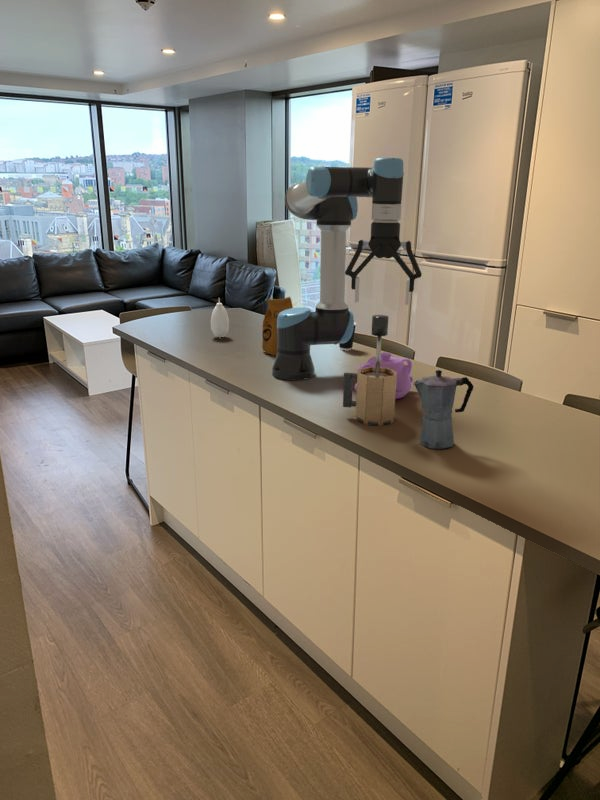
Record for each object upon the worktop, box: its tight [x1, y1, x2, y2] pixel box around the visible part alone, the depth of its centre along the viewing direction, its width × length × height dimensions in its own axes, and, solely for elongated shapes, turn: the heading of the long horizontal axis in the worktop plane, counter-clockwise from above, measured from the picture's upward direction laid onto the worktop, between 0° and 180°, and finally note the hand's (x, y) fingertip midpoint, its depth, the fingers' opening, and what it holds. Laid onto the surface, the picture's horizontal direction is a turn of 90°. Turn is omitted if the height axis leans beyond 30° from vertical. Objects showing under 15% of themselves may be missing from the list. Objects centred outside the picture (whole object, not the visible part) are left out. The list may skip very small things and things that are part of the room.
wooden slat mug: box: [342, 367, 397, 427], centre depth 174 cm, size 15×11×14 cm
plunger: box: [364, 314, 390, 377], centre depth 169 cm, size 8×8×18 cm
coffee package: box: [261, 296, 294, 356], centre depth 242 cm, size 10×12×22 cm
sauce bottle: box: [210, 298, 230, 338], centre depth 265 cm, size 8×8×18 cm
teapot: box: [354, 351, 414, 400], centre depth 192 cm, size 22×22×14 cm
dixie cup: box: [338, 321, 357, 352], centre depth 249 cm, size 8×8×11 cm
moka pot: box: [412, 369, 474, 450], centre depth 156 cm, size 10×15×20 cm, turn 95°
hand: (381, 302), depth 164 cm, fingers open, 13 cm apart
